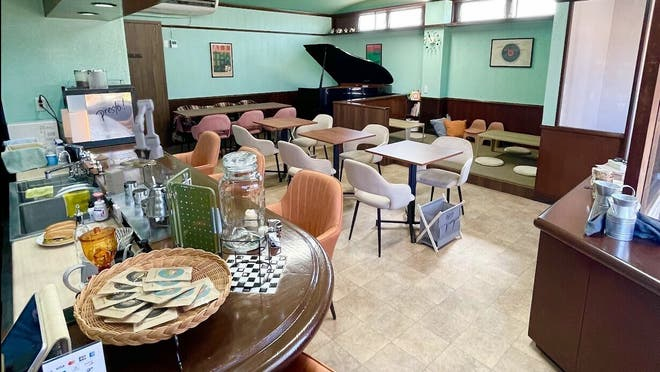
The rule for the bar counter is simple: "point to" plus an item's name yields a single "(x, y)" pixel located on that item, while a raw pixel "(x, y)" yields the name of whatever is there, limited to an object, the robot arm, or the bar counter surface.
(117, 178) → the supplement box
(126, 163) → the stand
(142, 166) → the stand
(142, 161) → the block
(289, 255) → the bar counter surface
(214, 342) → the bar counter surface
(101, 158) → the teacup with lid
